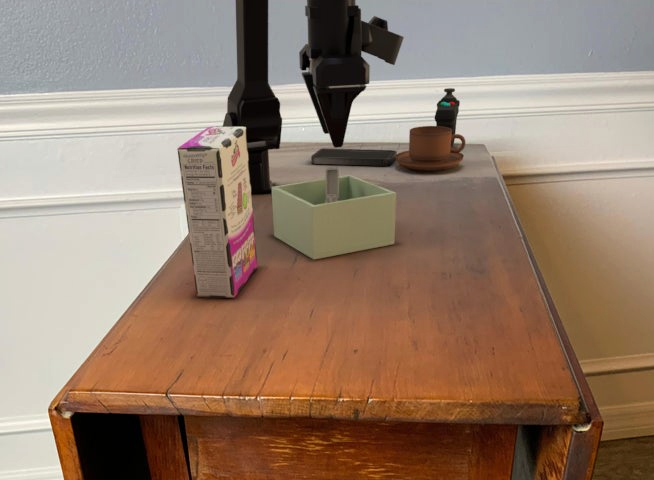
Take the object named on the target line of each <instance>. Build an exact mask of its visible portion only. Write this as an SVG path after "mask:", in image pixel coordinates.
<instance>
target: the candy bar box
mask: <svg viewBox="0 0 654 480" xmlns="http://www.w3.org/2000/svg"><path fill="white" fill-rule="evenodd" d="M176 150H177V157H178V163H179V173H180V180H181V187H182V195H183V202H184V203H183V204H184V209H185V216H186V224H187V230H188V231H187V233H188V239H189V246H190V253H191V261H192V262H191V263H192V270H193V278H194V286H195V292H196V296H197V297H199V298H206V299H207V298H214V299H215V298H216V299H235V298H236V297H237V295H238V294H239V292H240V291H241V290H242V289H243V287H244V286H245V284H246V283H247V281H248V280H249V278H250V277H251V276H252V274H254V272H255V270H256V269H257V268H258V256H257V246H256V244H257V243H256V234H255V233H256V232H255V223H254V221H255V220H254V210H253V209H254V208H253V199H252V198H253V197H252V193H251V183H250V172H249V159H248V148H247V136H246V127H237V126H233V127H230V126H223V125H222V126H217V125H216V126H209V127H206V128H205V129H203V130H201V132H199V133H197V134H196V135H194V136H193V137H191V138H190V139H188V140H187V141H186V142H184V143H182V144H181V145H180V146H178V147H177V148H176Z"/></svg>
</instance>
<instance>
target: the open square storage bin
mask: <svg viewBox="0 0 654 480" xmlns="http://www.w3.org/2000/svg"><path fill="white" fill-rule="evenodd" d="M325 201H326V177H325V178H320V179H313V180H307V181H300V182H294V183H288V184H281V185H275V186H274V185H273V187H272V192H271V203H272V223H273V236H274V238H276V239H279V240H280V241H282V242H283V243H284V244H286V245H288V246H289V247H292V248H293V249H295V250H297V251H299V252H300V253H302V254H303V255H305V256H307V257H309V258H310V259H312V260H313V261H314V260H318V259H319V260H320V259H325V258H330V257H334V256H335V257H336V256H339V255H345V254H350V253H355V252H362V251H367V250H371V249H376V248H380V247H381V248H382V247H386V246H391V245H395V239H396V237H395V236H396V207H397V192H395V191H392V190H391V189H388V188H385V187H382V186H380V185H377V184H375V183H373V182H369V181H367V180H365V179H362V178H359V177H358V176H354V175H352V174H345V175H339V201H336V202H330V203H325Z"/></svg>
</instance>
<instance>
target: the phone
mask: <svg viewBox="0 0 654 480" xmlns="http://www.w3.org/2000/svg"><path fill="white" fill-rule="evenodd" d="M397 154H398V151H397V150H395V149H394V150H393V149H359V148H356V149H355V148H320V149H318V150H317V151H316V152H315V153H313V154H312V155H311V156H310V157H311V159H310V160H311V164H316V165H345V166H346V165H347V166H351V165H352V166H377V167H386V166H390V165H392V164H393V163H394V162H395V161H396V158H395V156H396V155H397Z"/></svg>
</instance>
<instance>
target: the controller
mask: <svg viewBox="0 0 654 480" xmlns="http://www.w3.org/2000/svg"><path fill="white" fill-rule="evenodd" d="M455 91H456V89H455V88H451V87H448V88H444V89H443V92H444V93H446V94H445V95H444V96H443V97H442V98H441V99H440V100H439V101H438V102H437V103H436V111H435V115H434V121H435V122H436V124H435V126H442V127H448V128H451V129H452V135H454V134H456V132H457V131H456V129H457V119H458V114H459V111H460V109H459V108H460V106H461V105H460V104H461V103H460V102H461V101H460V100H459V99H458V98H457V97H456V96H455V95H454V94H453V93H455ZM455 140H456V138H455V139H453V140H451V147H452V148H453V147H454V146H455Z"/></svg>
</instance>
